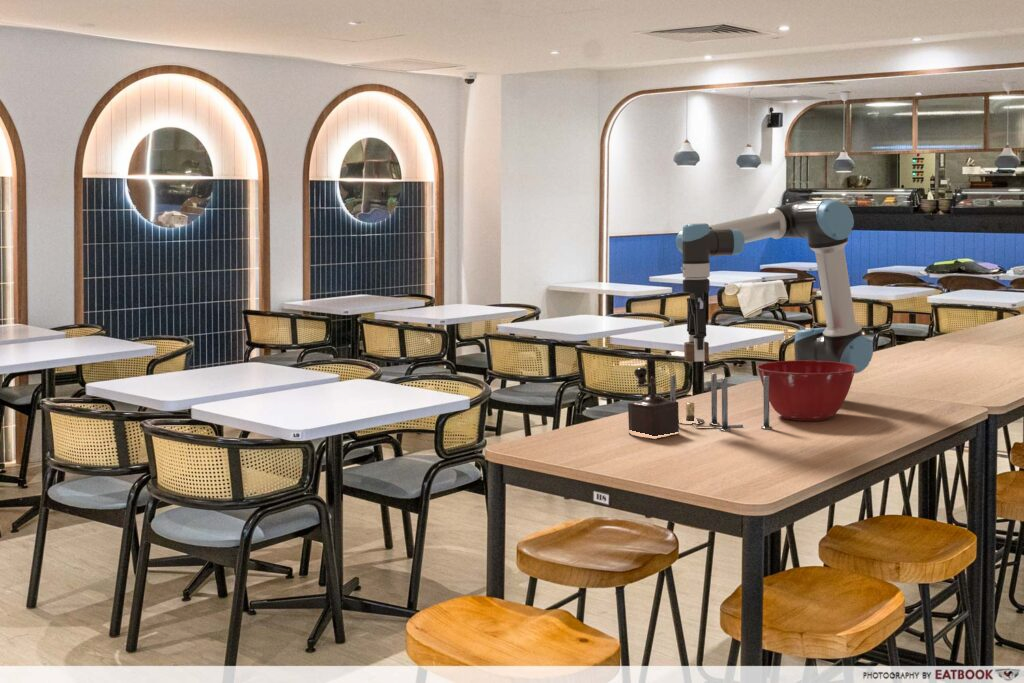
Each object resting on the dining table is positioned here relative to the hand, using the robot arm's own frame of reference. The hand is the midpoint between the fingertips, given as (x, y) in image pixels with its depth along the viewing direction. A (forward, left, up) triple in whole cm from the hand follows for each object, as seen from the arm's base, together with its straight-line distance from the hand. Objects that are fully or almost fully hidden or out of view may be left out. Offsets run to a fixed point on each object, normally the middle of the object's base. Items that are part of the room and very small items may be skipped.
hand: (696, 359), depth 326 cm
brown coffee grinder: (+3, -15, -20) cm, 25 cm away
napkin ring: (0, 0, 0) cm, 0 cm away
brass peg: (-10, 0, -20) cm, 23 cm away
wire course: (0, +6, -20) cm, 21 cm away
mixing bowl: (-11, +35, -20) cm, 42 cm away
